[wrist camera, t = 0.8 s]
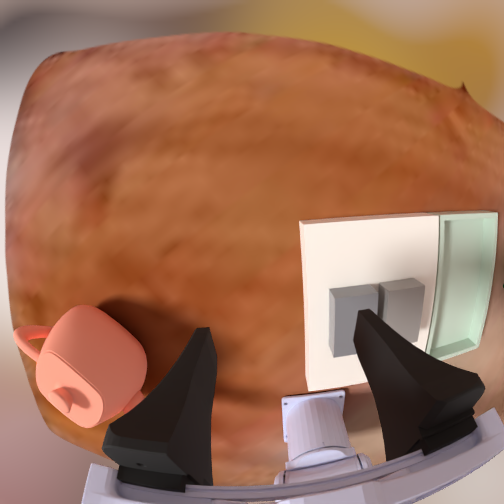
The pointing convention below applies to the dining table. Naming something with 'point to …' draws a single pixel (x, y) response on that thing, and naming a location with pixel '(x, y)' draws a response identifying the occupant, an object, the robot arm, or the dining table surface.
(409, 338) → the tile
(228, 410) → the dining table surface
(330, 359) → the board
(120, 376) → the teapot
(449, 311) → the box
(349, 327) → the tile
